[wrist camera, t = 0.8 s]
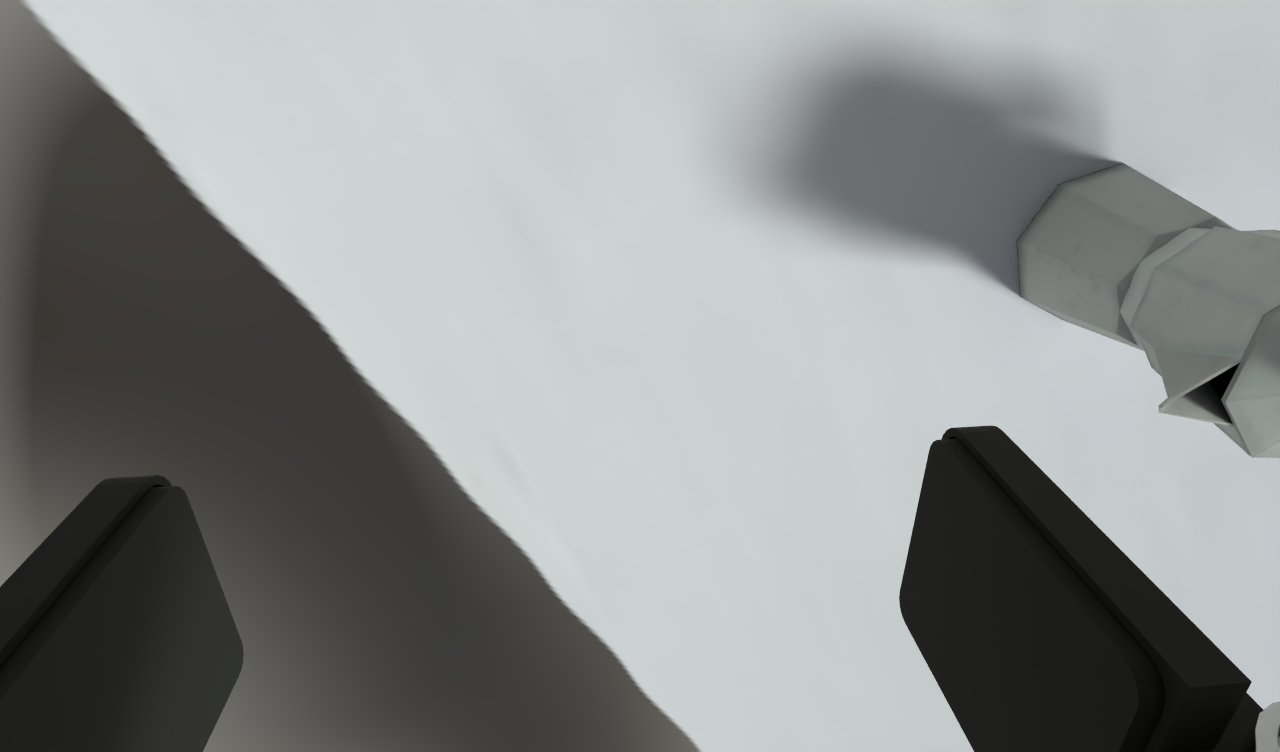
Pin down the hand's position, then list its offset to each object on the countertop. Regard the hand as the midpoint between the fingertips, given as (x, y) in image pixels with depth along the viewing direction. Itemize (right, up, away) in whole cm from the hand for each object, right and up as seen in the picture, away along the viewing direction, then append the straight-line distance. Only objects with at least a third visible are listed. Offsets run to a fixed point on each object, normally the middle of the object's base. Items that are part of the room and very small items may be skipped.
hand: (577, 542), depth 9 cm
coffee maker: (+26, +10, +30) cm, 41 cm away
